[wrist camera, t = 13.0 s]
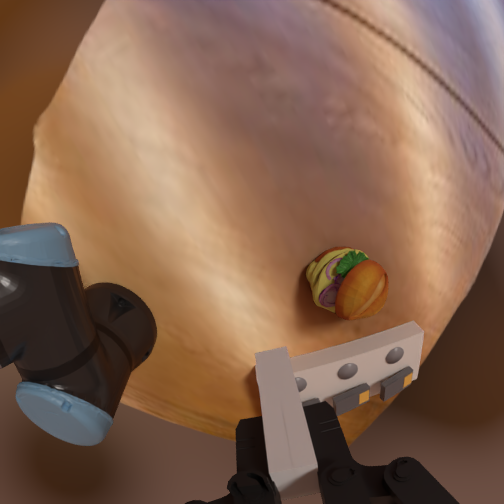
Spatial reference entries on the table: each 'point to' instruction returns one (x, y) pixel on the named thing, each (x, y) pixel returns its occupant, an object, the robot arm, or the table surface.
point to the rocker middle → (351, 399)
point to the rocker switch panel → (357, 363)
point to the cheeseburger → (348, 283)
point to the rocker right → (396, 383)
